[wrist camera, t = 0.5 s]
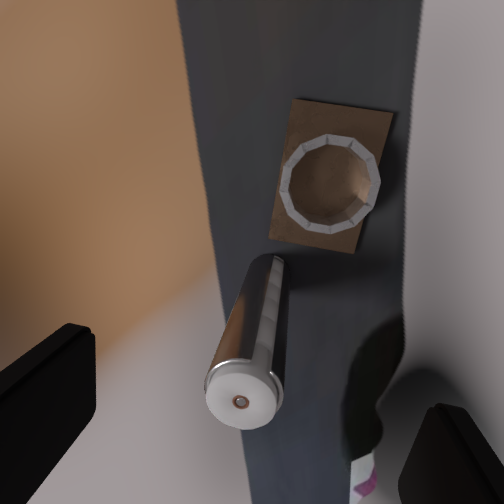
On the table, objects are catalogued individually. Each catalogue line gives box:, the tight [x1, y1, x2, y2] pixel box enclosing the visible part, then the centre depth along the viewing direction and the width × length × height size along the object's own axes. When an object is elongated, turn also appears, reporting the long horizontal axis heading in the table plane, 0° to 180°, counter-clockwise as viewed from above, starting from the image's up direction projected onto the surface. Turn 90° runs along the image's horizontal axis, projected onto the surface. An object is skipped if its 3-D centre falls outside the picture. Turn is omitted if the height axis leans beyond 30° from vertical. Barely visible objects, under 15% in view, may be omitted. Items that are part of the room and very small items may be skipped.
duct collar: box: [268, 99, 393, 254], centre depth 39 cm, size 18×12×6 cm, turn 172°
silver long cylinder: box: [204, 254, 291, 430], centre depth 36 cm, size 6×6×25 cm
